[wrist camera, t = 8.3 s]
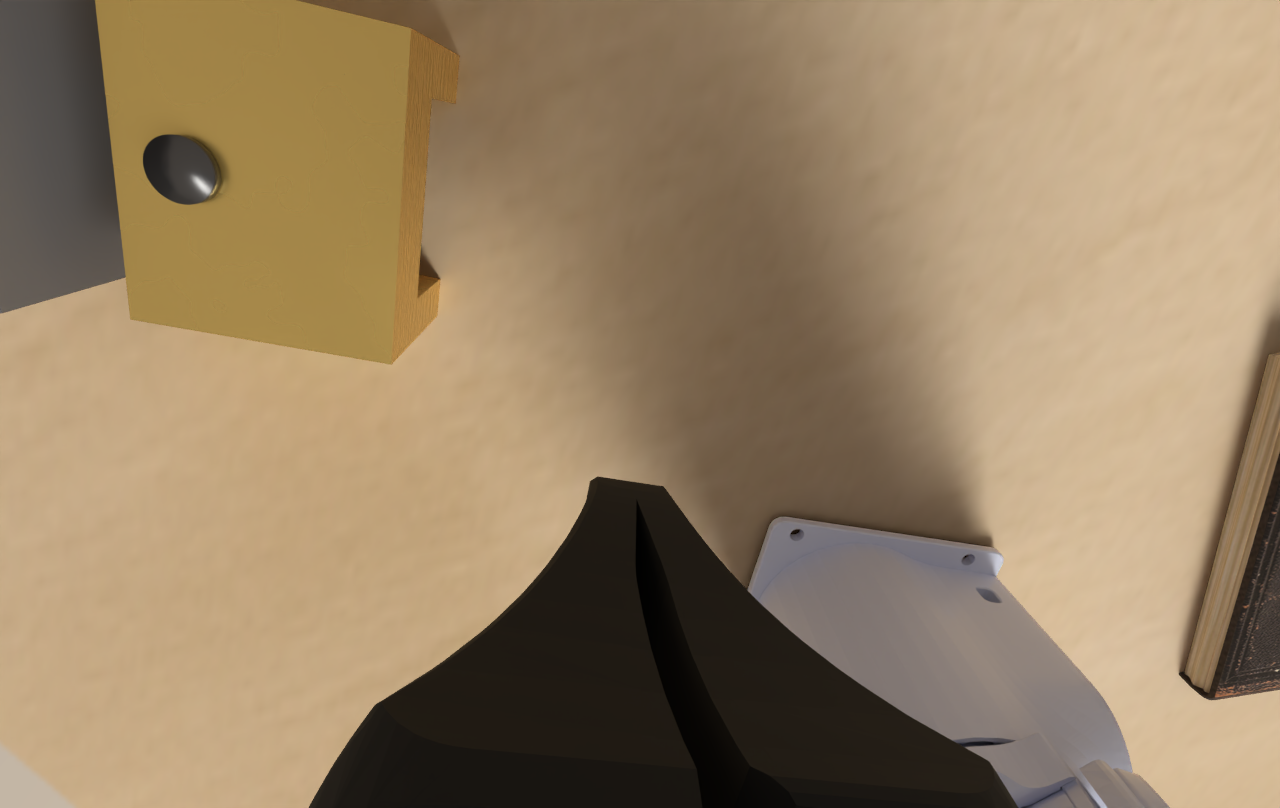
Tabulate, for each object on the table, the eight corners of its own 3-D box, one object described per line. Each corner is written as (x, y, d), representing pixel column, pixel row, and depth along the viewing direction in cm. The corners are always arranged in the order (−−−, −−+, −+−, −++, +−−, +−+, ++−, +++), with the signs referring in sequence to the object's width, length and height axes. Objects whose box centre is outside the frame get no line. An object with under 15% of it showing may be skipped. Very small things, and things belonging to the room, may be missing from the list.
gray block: (381, 41, 16) (251, -15, 10) (371, 295, 19) (264, 368, 13) (52, -35, 15) (-302, -147, 9) (90, 244, 18) (-168, 297, 12)
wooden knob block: (459, 56, 17) (406, 26, 12) (437, 315, 20) (387, 368, 15) (225, -1, 16) (77, -55, 11) (236, 278, 19) (120, 322, 14)
